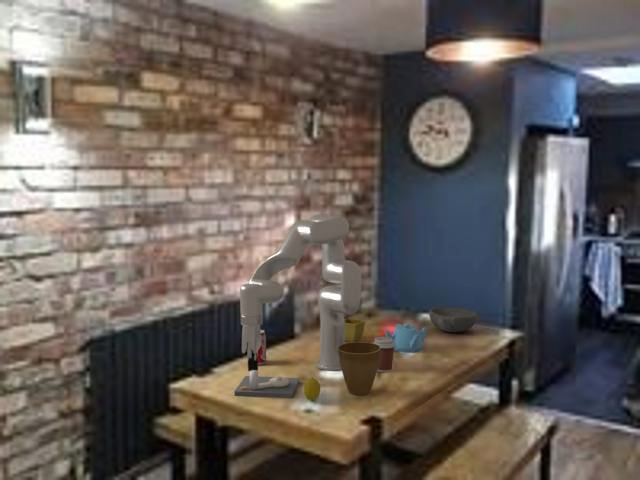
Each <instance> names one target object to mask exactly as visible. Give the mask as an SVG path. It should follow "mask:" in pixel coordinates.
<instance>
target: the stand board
mask: <svg viewBox="0 0 640 480" xmlns="http://www.w3.org/2000/svg"><path fill="white" fill-rule="evenodd" d="M275 377H276V376H258V384H259V383H265V382H269V380H270V379H271V378H275ZM287 378H288V379H289V385H288V386H286V387H266V388H260V389H256V390H251V389H250V375H244V377H243V379H242V380H241V382H240V383H239V384H238V385H237V387H236V389H235V390H234V396H237V397H259V398H260V397H261V398H262V397H263V398H281V399H283V398H284V399H293V397H294V395H295V393H296V391H297V388H298V386H299V384H300V377H287Z"/></svg>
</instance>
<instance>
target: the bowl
mask: <svg viewBox="0 0 640 480" xmlns="http://www.w3.org/2000/svg"><path fill="white" fill-rule="evenodd" d="M428 311H429V312H428V315H429V319H430V322H431V323H432V325H433V326H434V327H435V328H436V329H438V330H440V331H442V332H446V333H447V332H448V333H460V332H462V333H463V332H465V331H468V330H470V329H471V328H473V326H475V324H476V323H477V321H478V316H479V315H478V313H477V312H476V311H475V310H471V309H467V308H461V307H449V306H439V307H438V306H437V307H432V308H431V309H429V310H428Z"/></svg>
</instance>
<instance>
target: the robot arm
mask: <svg viewBox="0 0 640 480" xmlns="http://www.w3.org/2000/svg"><path fill="white" fill-rule="evenodd" d="M349 230H350V223H349V221H348V220H347V219H346V218H345V217H343V216H341V215H331V214H315V215H312V216H310V218H309V220H306V219H305V220H297V221H295V222H294V223H293V224H292V226H291V227H290V229H289V231H288V232H287V234H286V236H285V238H284V239H283V241H282V243H281V245H280V246H279V248H278V249H277V250H276V252H275V253H273V254H272V255H270V257H268V258H266V259H265V260H264V261H263V262H261V263H260V264H259V265H258V266H257V268H256V269H255V270H254V273H253V274H252V276H251V278H250V279H249V282H248V283H244V284H242V285H241V286H240V288H239V305H240V307H239V308H240V309H239V310H240V325H241V326H242V331H241V353H242V354H245V353H246V352H247V355H246V356H247V371H248V372H250V371H251V370H257V371H259V365H258V359H257V358H258V350H259V348H260V346H261V331H260V330H261V325H263V321H264V320H263V304H275V303H278V302H279V301H281V300H282V299H283V297H284V295H285V288H284V286H283V285H282V284H280V283H279V282H278V281H274V280H271V279H272V278H273V277H274V276H275V275H276V274H278V273H279V272H281V271H284V270H287V269H290V268H292V267H295V266H296V265H298V263H299V261H300V260H301V258H302V256H303V254H304V252H305V251H306V250H307V248H308V246H309V245H315V246H321V250H322V252H321V253H322V261H321V263H322V264H321V265H322V266H321V268H322V269H321V270H322V271H321V272H322V273H321V274H322V277H323V280H324V281H326V282H328V283H332V284H334V285H335V286H334V285H327V286H324V287H322V288H321V289H320V290H319V291H318V295H317V304H318V307H319V313H320V314H319V317H320V360H318V361H316V367H317V368H318V369H320V370H326V371H340V370H341V371H342V369H341V365H340V360H339V354H338V346H339V345H341V344H344V343H346V341H345V316H344V314H345V315H354V314H356V313H357V312H358V310H359V309H360V307H361V302H362V301H361V299H362V298H361V297H362V271H361V268H360V266H359V264H358V263H357V262H356V261H353V260H348V259H346V258H345V257H346V256H345V245H344V240H343V239H344V238H345V237H346V236H347V235H348V233H349ZM336 285H340V286H341V287H340V286H336Z"/></svg>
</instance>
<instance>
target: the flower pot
mask: <svg viewBox="0 0 640 480" xmlns="http://www.w3.org/2000/svg"><path fill="white" fill-rule="evenodd" d="M344 320H345V342H348V343H350V342H359V341H360V340H361V338H362V336H363V335H364V332H365V331H364V330H365V324H366V320H363V319H362V320H361V319H356V318H350V317H349V318H346V319H345V318H344Z"/></svg>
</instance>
